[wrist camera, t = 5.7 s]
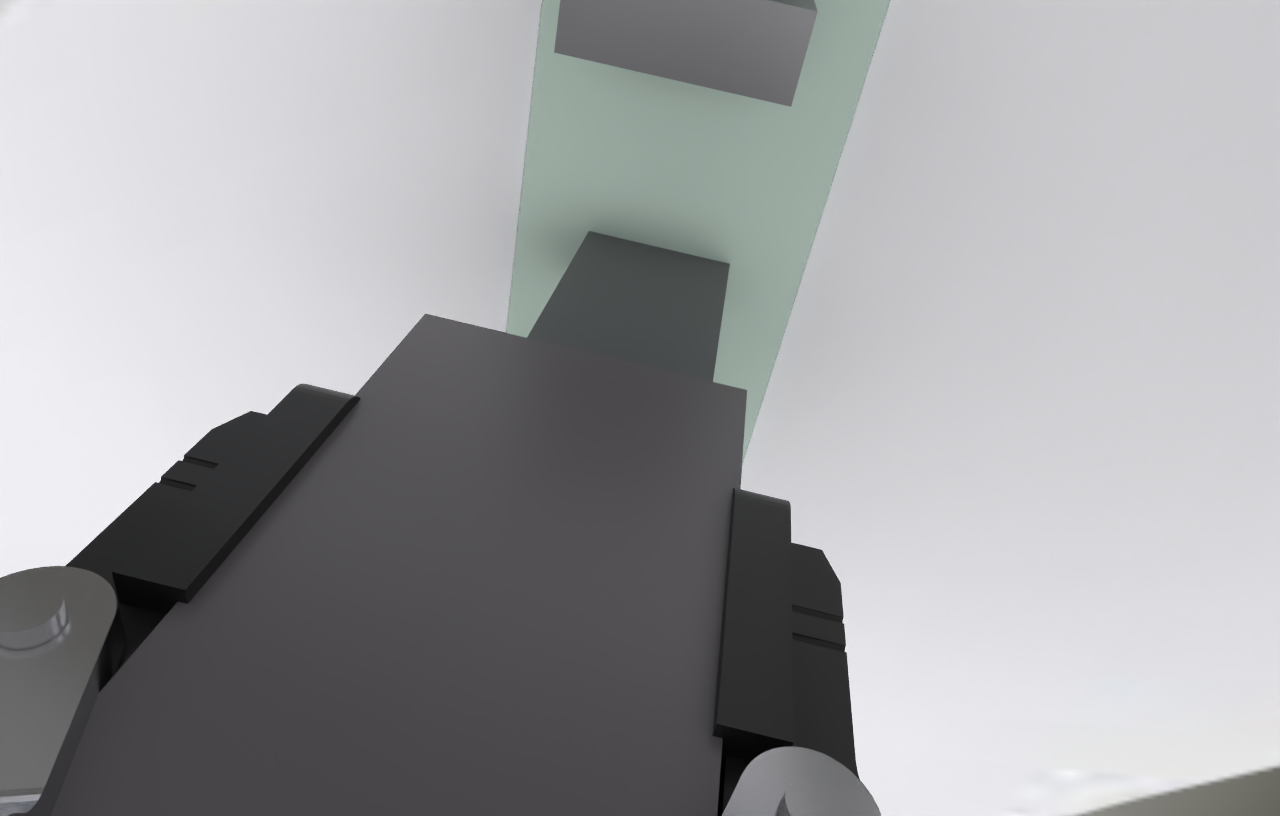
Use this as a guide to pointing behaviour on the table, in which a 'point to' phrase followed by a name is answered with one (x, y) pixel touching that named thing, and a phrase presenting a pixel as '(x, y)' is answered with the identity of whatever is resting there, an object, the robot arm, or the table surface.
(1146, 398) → the table surface
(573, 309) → the domino
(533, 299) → the mat
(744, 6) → the domino
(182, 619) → the domino
